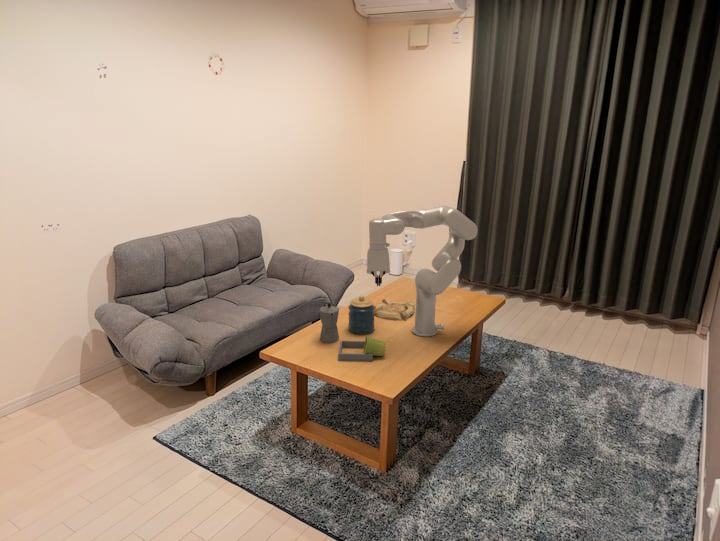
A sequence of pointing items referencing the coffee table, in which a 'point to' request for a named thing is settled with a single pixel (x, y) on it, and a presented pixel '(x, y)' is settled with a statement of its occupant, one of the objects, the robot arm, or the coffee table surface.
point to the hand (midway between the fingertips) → (378, 284)
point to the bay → (353, 356)
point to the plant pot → (374, 347)
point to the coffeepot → (329, 323)
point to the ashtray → (394, 310)
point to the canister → (361, 316)
